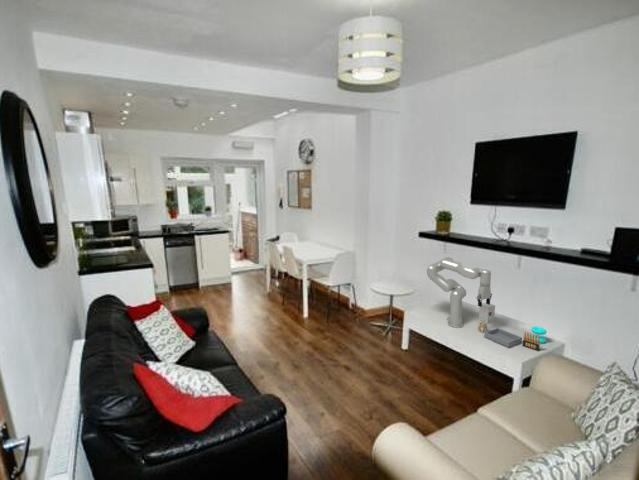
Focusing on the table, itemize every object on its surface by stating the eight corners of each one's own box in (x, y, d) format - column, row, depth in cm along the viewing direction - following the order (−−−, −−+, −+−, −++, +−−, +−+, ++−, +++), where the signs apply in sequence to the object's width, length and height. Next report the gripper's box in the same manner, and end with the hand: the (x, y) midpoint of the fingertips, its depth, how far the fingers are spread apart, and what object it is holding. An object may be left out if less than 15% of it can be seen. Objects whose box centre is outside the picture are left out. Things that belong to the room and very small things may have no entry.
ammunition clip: (522, 346, 249) (523, 331, 247) (523, 345, 250) (524, 330, 248) (538, 351, 241) (539, 335, 239) (539, 350, 242) (540, 335, 240)
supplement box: (487, 323, 289) (488, 307, 286) (478, 319, 297) (479, 304, 294) (494, 321, 293) (495, 305, 290) (485, 317, 301) (486, 302, 298)
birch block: (477, 331, 275) (478, 322, 274) (481, 329, 277) (482, 320, 276) (482, 333, 271) (483, 323, 270) (486, 331, 273) (486, 322, 272)
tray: (484, 337, 264) (484, 332, 263) (497, 332, 271) (497, 327, 270) (508, 348, 246) (508, 342, 246) (521, 343, 254) (522, 337, 253)
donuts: (542, 326, 259) (549, 331, 249) (541, 338, 260) (548, 344, 251) (528, 325, 260) (534, 331, 251) (527, 337, 262) (533, 343, 252)
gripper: (488, 282, 274) (487, 301, 277) (473, 285, 266) (472, 305, 269) (496, 284, 267) (495, 304, 270) (481, 288, 260) (480, 308, 263)
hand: (483, 305), depth 270 cm, fingers open, 9 cm apart
